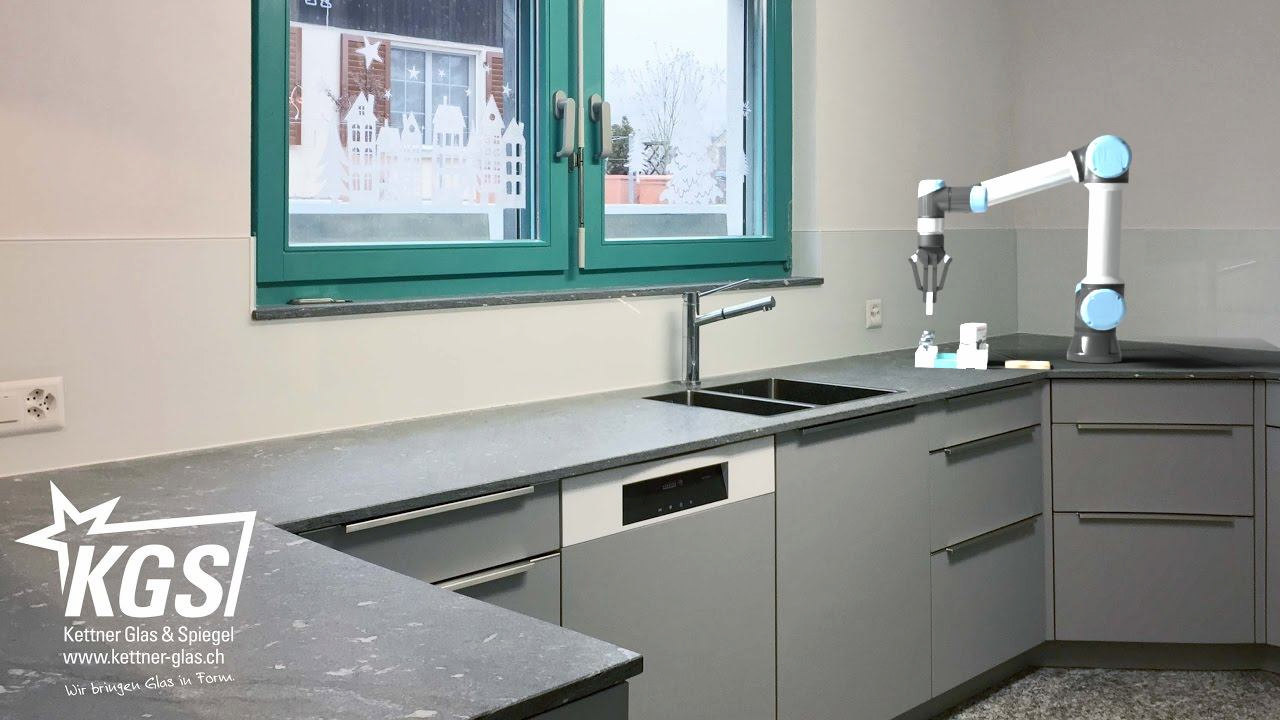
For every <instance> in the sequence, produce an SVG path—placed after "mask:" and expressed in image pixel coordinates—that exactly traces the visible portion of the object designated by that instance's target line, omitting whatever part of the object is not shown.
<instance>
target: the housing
mask: <svg viewBox="0 0 1280 720" xmlns="http://www.w3.org/2000/svg"><path fill="white" fill-rule="evenodd" d="M938 350H939V349H938V346H937V345H931V348H929V352H922V351H923V345H919V347H918V349H917V350H916V352H915V362H914V363H915V365H914V367H915V368H940V369H941V368H942V369H966V368H975V369H974V370H987V366H988V365H987V364H988V362H989V344H988V343H986V350H960V348H959V349H957V351H956V353H954V352H953V353H952V352H951V353H949V352H939V351H938Z"/></svg>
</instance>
